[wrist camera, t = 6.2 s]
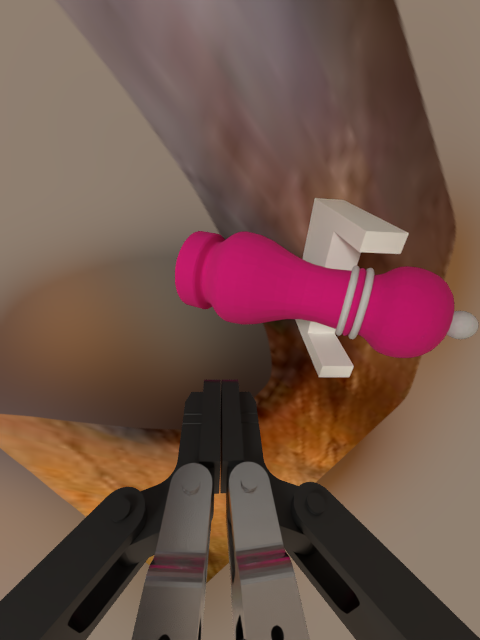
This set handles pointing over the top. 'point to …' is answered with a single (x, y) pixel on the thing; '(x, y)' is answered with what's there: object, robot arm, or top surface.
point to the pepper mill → (318, 294)
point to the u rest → (341, 267)
